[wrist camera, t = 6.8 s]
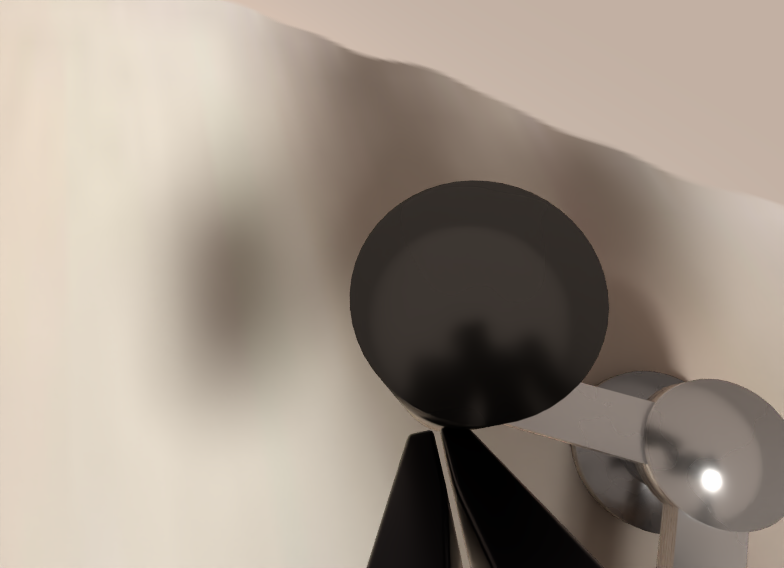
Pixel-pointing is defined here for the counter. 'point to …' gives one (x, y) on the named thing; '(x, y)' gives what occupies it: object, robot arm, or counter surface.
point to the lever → (553, 361)
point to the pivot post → (624, 462)
